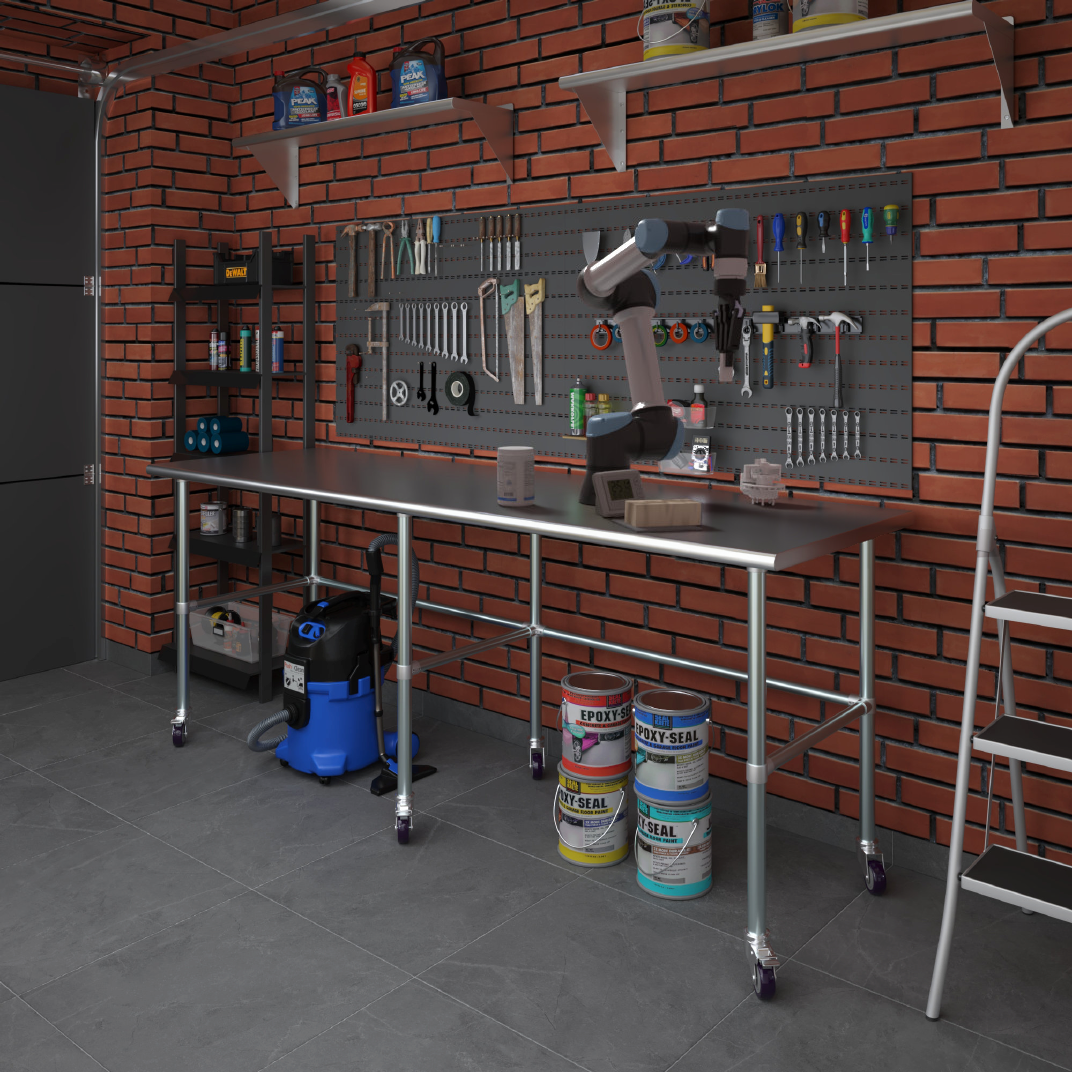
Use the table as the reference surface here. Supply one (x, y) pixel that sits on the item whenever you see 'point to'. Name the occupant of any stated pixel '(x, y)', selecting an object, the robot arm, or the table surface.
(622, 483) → the digital clock
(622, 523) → the charcoal rubber mat
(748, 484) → the mechanical part
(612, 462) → the robot arm
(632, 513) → the beige rectangular block
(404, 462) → the table surface
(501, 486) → the supplement tub
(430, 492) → the table surface
